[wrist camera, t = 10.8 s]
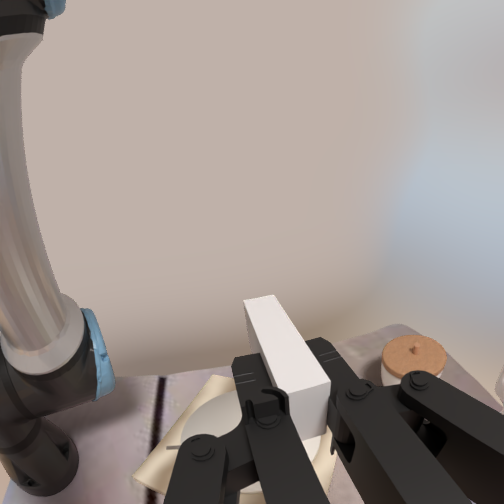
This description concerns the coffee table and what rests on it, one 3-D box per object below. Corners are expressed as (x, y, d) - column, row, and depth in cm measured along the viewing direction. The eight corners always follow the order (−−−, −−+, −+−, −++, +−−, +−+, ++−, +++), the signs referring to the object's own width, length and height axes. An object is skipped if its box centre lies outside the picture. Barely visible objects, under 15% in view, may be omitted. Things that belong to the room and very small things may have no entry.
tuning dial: (278, 524, 19) (266, 472, 15) (149, 462, 28) (103, 388, 24) (338, 405, 36) (343, 323, 32) (230, 380, 45) (214, 306, 41)
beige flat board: (136, 481, 26) (131, 475, 25) (214, 380, 48) (212, 373, 48) (313, 538, 17) (314, 535, 17) (347, 397, 39) (348, 390, 39)
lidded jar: (363, 386, 41) (369, 342, 38) (407, 361, 44) (415, 319, 41) (402, 423, 31) (417, 378, 28) (446, 390, 34) (462, 345, 31)
